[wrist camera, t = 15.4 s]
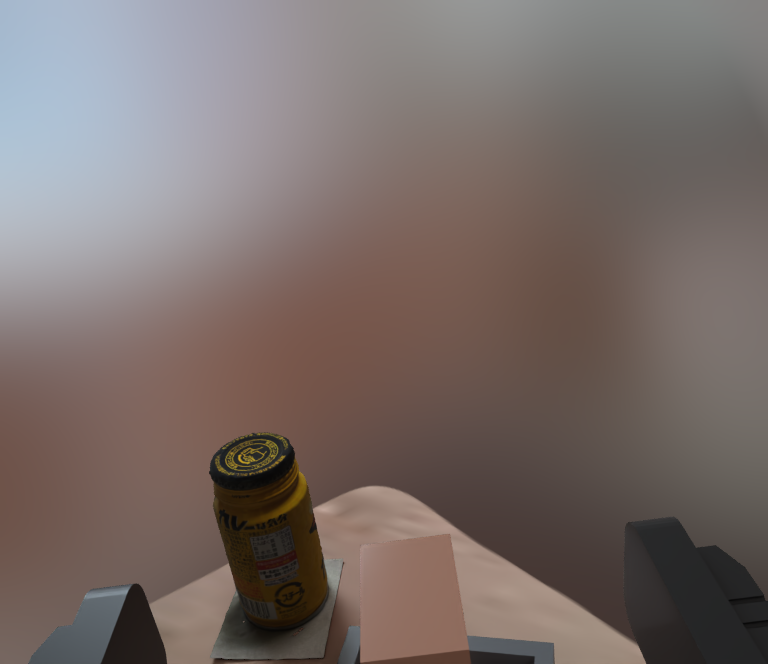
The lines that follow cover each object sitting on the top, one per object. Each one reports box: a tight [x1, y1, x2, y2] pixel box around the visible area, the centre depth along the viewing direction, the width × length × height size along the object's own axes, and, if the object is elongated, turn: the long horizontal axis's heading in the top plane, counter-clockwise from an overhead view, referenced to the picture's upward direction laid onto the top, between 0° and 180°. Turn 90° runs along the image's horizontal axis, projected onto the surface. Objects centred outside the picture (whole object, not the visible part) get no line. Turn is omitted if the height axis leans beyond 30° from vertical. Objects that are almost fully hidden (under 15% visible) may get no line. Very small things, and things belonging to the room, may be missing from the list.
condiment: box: [209, 433, 343, 660], centre depth 46 cm, size 7×8×12 cm
